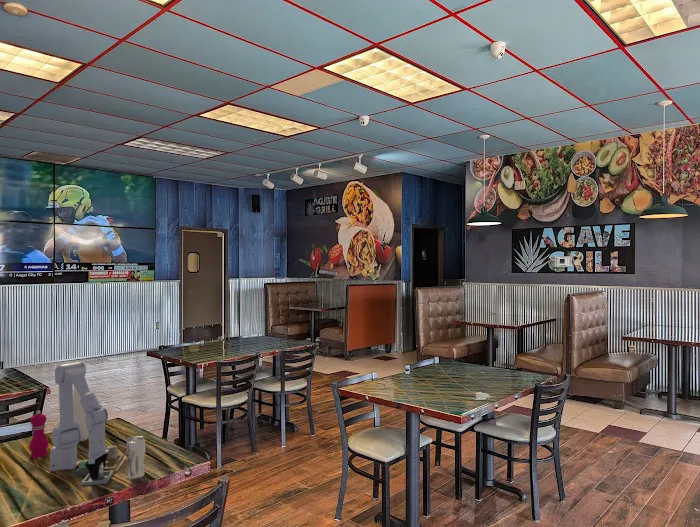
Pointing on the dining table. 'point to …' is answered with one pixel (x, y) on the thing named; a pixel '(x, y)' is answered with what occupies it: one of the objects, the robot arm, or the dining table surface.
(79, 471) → the switch box
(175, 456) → the dining table surface
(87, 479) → the tray
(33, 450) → the pepper mill
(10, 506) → the dining table surface
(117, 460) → the light brown divided box
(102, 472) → the cylinder
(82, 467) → the button
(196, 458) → the dining table surface
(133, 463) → the beer glass
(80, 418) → the alcohol
